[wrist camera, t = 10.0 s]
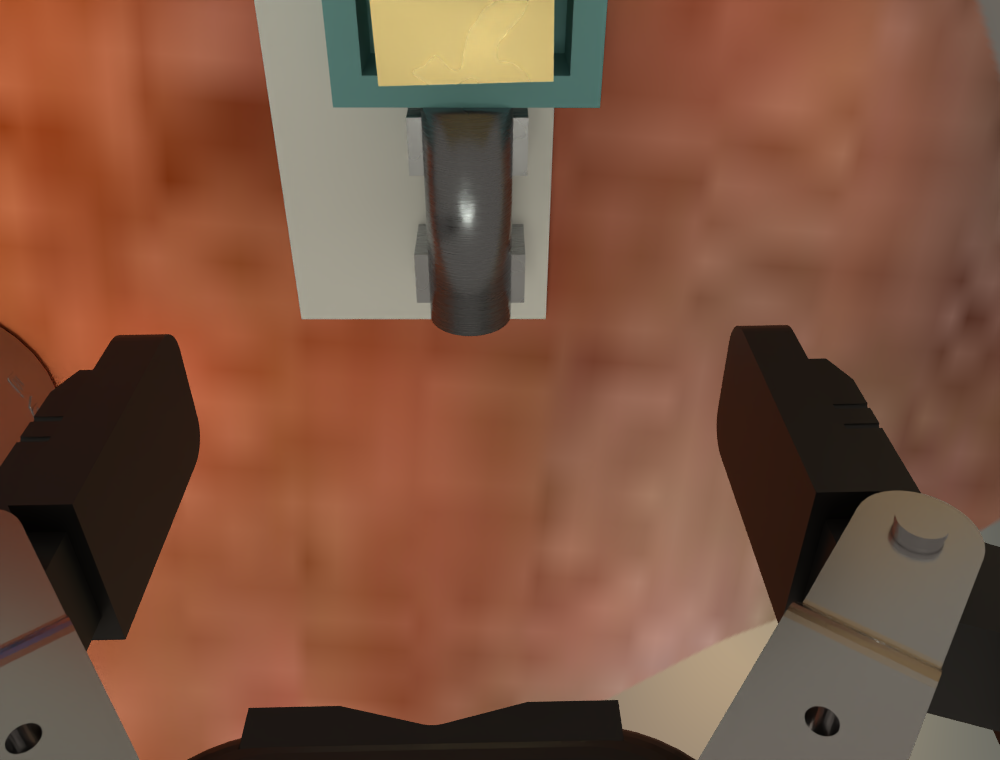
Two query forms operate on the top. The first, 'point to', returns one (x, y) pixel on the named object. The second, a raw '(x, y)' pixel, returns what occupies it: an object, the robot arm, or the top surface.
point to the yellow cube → (463, 41)
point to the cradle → (572, 86)
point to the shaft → (469, 214)
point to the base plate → (368, 184)
